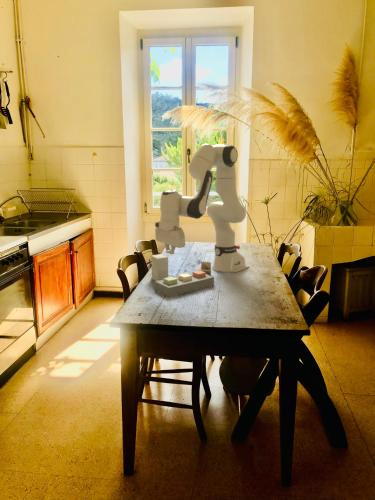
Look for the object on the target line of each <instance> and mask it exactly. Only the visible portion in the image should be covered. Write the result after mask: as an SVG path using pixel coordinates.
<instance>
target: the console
mask: <svg viewBox="0 0 375 500" xmlns="http://www.w3.org/2000/svg"><path fill="white" fill-rule="evenodd" d="M188 274H189V275H191V276H192V280H189V281H185V282H184V281H181V280H179V279H178V276H174V278H176V279H177V283H176V284H172V285H167V284H165V283H164V282H163V280H159V281H155V280H154V290H155V291H156V292H158V291H159V292H158V293H160V294H163V296H166V297H169V298H171V297H175V296H178V295H181V294H185V293H191V292H193V291H197V290H201V289H202V290H203V289H206V288H209V287H214V286H215V276H214V275H213V276H212V275H210V274H208V275H207V274H206V277H202V278H196V277H194V276H193V272H191V273H188Z"/></svg>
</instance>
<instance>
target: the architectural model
mask: <svg viewBox="0 0 375 500" xmlns="http://www.w3.org/2000/svg"><path fill="white" fill-rule="evenodd" d="M199 270H200V271H203V272H206V274H207V275H210V276H212V263H211V261H201V263H200V267H198V268H197V271H199Z"/></svg>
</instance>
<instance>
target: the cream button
mask: <svg viewBox="0 0 375 500" xmlns="http://www.w3.org/2000/svg"><path fill="white" fill-rule="evenodd" d="M189 274H190V273H181V274H178V279H179V280H181V281H184V282H185V281H189V280H192V276H191V275H189Z"/></svg>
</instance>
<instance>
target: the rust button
mask: <svg viewBox="0 0 375 500" xmlns="http://www.w3.org/2000/svg"><path fill="white" fill-rule="evenodd" d="M192 273H193V276H194V277H196V278H202V277H206V272H203V271H201V270H196V271H192Z"/></svg>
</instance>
